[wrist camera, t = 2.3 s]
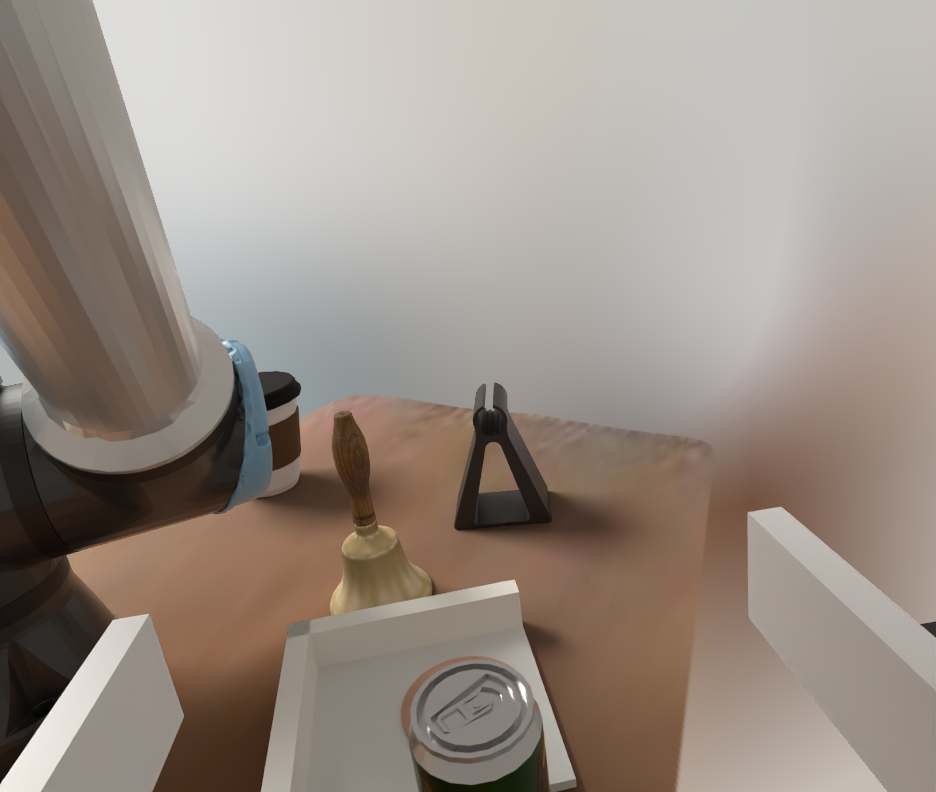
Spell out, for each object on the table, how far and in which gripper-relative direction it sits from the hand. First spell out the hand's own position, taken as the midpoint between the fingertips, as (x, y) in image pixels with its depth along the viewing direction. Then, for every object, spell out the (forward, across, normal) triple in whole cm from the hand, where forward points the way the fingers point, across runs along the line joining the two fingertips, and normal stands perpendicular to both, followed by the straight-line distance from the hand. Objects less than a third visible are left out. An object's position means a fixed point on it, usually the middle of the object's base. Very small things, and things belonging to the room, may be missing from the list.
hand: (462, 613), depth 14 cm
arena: (+21, -4, -22) cm, 31 cm away
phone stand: (+44, +4, -22) cm, 50 cm away
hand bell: (+34, -7, -22) cm, 41 cm away
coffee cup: (+58, -20, -21) cm, 65 cm away
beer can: (+9, -1, -23) cm, 24 cm away
